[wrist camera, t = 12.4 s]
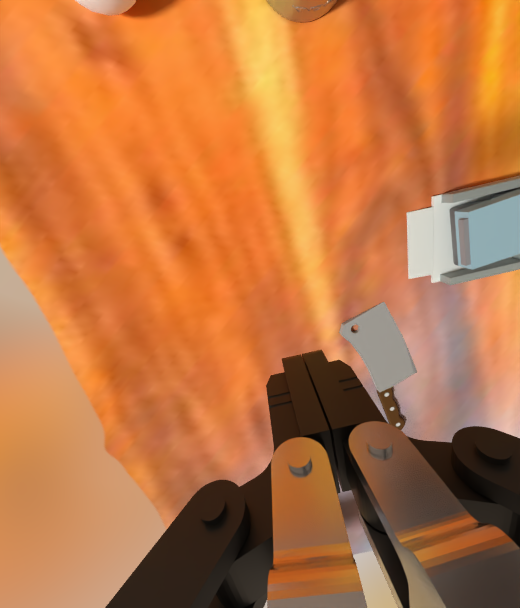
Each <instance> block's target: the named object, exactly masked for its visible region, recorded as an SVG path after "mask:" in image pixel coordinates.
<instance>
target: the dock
mask: <svg viewBox="0 0 520 608" xmlns="http://www.w3.org/2000/svg"><path fill="white" fill-rule="evenodd" d="M518 187H520V176H516V177H512V178H507V179H503V180H499V181H495V182H491V183H486V184H482V185H478V186H474V187H470V188H465V189H461V190H457V191H453V192H449V193H444V194H440V195H436V196H432V207H430V208H425V209H421V210H416V211H412V212H407V242H408V279H411V278H417V277H422V276H427V275H431V282H432V283H434V282H439V281H441V282H443V283H446V284H448V285H454V284H458V283H462V282H467V281H471V280H475V279H480V278H484V277H488V276H493V275H497V274H501V273H506V272H510V271H514V270H519V269H520V254H518V255H515V256H512V257H509V258H506V259H503V260H500V261H497V262H494V263H491V264H488V265H485V266H482V267H479V268H476V269H473V270H471V269H468V268H464V267H461V266H457V265H455V264H454V262H453V249H452V236H451V224H450V211H449V210H450V209H451V208H453V207H455V206H458V205H461V204H464V203H468V202H473V201H480V200H489V199H491V195H492V194H493V193H497V192H502V191H506V190H510V189H514V188H518Z"/></svg>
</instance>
